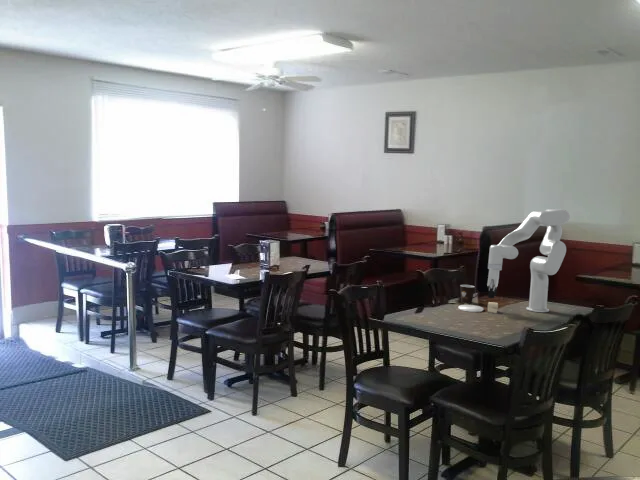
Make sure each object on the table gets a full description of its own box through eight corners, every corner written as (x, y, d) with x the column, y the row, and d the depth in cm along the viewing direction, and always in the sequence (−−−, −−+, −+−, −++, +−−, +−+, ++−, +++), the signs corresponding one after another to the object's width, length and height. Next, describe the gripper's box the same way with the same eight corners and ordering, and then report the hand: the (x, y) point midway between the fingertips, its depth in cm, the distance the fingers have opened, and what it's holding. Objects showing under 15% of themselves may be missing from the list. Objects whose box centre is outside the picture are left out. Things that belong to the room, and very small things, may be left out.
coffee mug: (456, 300, 359) (457, 284, 358) (468, 300, 361) (469, 284, 360) (466, 304, 348) (467, 288, 347) (479, 304, 350) (480, 288, 349)
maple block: (488, 310, 334) (489, 301, 333) (497, 311, 332) (498, 302, 331) (487, 312, 329) (487, 303, 329) (496, 313, 327) (497, 304, 327)
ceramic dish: (460, 305, 344) (460, 303, 343) (484, 308, 338) (485, 306, 338) (456, 310, 331) (456, 308, 331) (481, 313, 325) (481, 311, 325)
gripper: (490, 264, 337) (487, 293, 339) (485, 267, 322) (483, 298, 323) (503, 266, 334) (500, 295, 336) (499, 269, 319) (497, 299, 320)
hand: (492, 296), depth 329 cm, fingers open, 9 cm apart
